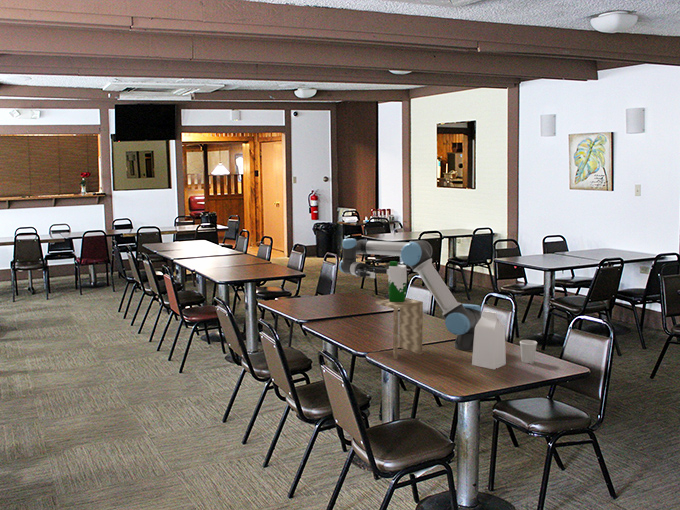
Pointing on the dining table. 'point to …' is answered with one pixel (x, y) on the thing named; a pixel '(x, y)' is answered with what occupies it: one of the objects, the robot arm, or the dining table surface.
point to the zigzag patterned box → (406, 324)
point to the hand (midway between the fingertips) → (385, 274)
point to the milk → (489, 342)
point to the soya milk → (397, 282)
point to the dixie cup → (528, 350)
